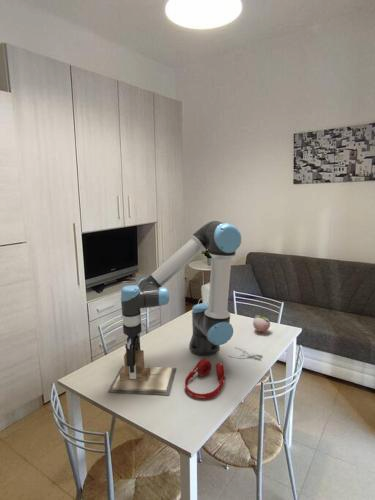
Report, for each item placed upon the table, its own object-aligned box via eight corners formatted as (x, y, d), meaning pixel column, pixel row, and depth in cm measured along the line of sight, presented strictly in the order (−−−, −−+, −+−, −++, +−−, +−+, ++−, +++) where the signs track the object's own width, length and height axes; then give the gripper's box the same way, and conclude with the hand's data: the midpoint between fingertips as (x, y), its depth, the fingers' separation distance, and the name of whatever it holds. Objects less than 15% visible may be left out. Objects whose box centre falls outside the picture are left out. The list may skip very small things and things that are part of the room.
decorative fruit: (250, 333, 181) (250, 316, 179) (255, 327, 187) (255, 311, 185) (266, 337, 176) (267, 319, 174) (271, 331, 183) (272, 314, 180)
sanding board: (176, 368, 148) (176, 365, 148) (169, 395, 129) (169, 392, 129) (122, 366, 151) (122, 363, 150) (107, 392, 132) (107, 389, 132)
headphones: (200, 367, 148) (179, 398, 132) (199, 354, 146) (177, 384, 129) (231, 375, 142) (213, 409, 125) (230, 361, 139) (212, 394, 123)
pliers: (235, 345, 166) (264, 351, 159) (235, 348, 166) (264, 354, 159) (227, 354, 157) (258, 361, 150) (227, 357, 158) (258, 364, 150)
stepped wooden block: (150, 373, 142) (149, 350, 140) (147, 380, 137) (146, 356, 135) (123, 372, 143) (121, 349, 141) (119, 379, 138) (118, 355, 136)
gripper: (129, 314, 144) (132, 362, 149) (116, 332, 127) (119, 386, 132) (146, 314, 144) (148, 363, 148) (135, 333, 126) (138, 387, 131)
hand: (135, 374), depth 140 cm, fingers closed on stepped wooden block, 5 cm apart
